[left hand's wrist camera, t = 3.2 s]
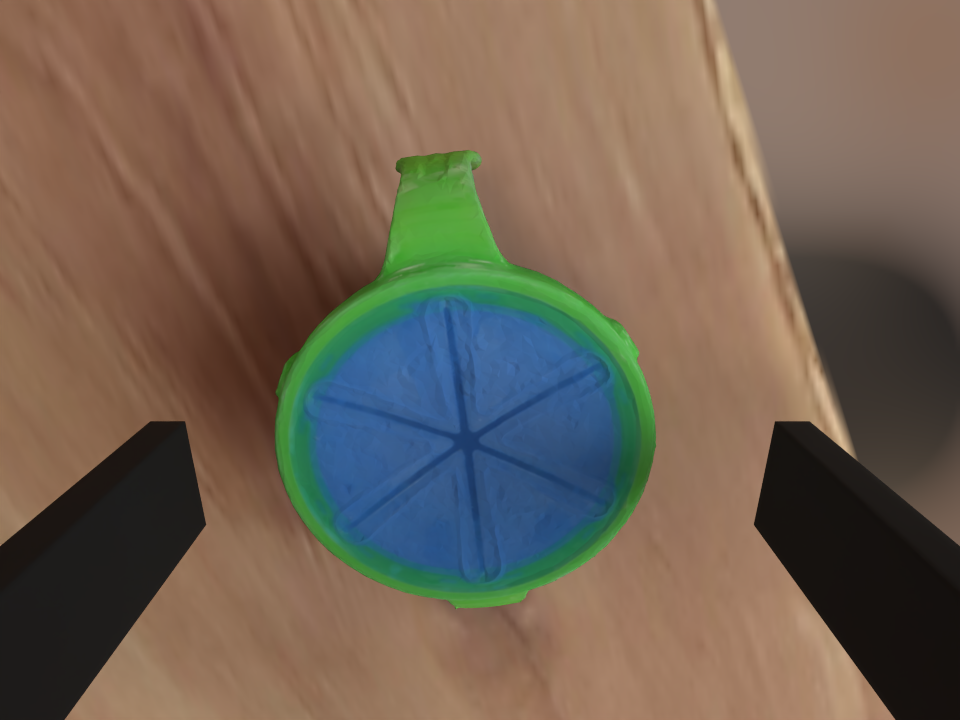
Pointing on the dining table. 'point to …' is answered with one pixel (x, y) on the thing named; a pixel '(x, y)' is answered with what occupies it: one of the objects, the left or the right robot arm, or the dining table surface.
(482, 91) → the dining table surface
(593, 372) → the toddler cup with handle
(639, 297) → the dining table surface
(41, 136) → the dining table surface
